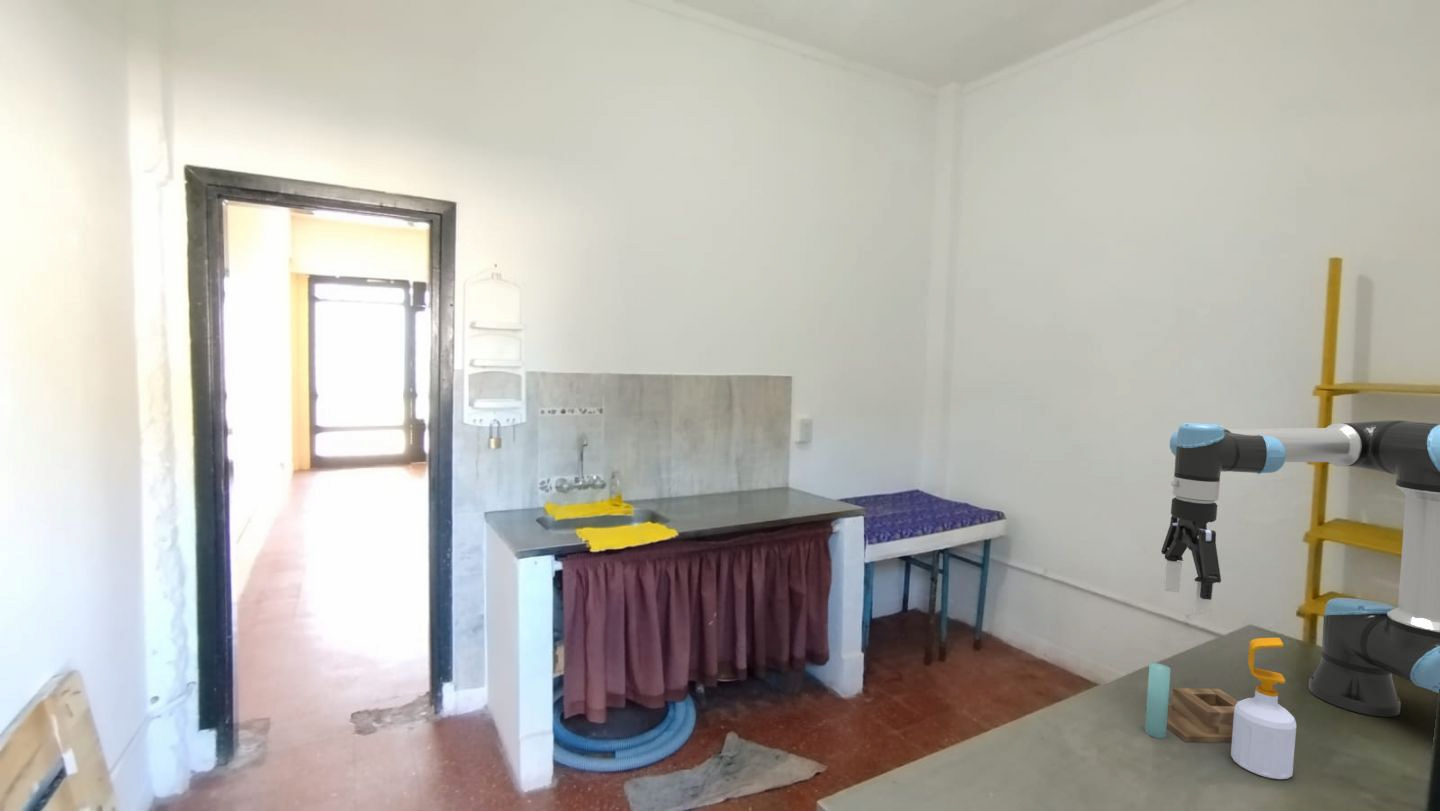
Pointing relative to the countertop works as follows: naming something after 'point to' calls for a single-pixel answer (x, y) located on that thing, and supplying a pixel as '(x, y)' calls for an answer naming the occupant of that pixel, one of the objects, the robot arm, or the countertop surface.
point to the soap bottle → (1264, 724)
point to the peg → (1157, 700)
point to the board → (1201, 715)
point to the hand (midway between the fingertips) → (1185, 602)
